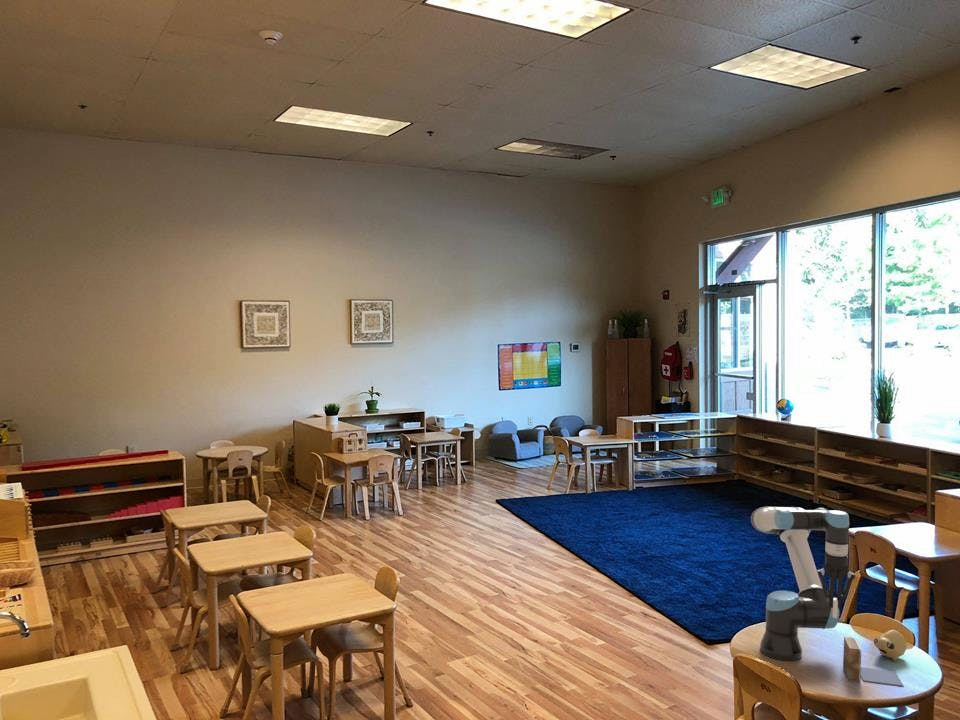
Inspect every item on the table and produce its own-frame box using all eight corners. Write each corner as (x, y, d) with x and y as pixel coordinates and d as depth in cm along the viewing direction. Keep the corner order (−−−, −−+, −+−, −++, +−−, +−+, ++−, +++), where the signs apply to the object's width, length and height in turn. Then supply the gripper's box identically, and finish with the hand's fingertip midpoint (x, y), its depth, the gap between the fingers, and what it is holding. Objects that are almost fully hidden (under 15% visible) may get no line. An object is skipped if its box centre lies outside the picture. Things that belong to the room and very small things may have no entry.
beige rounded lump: (867, 656, 284) (868, 629, 283) (885, 649, 290) (886, 623, 289) (893, 666, 275) (894, 638, 275) (910, 659, 281) (911, 632, 281)
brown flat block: (848, 680, 264) (849, 648, 263) (843, 668, 273) (844, 636, 273) (860, 682, 263) (861, 649, 262) (854, 669, 272) (855, 638, 272)
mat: (863, 681, 263) (863, 680, 263) (856, 667, 274) (856, 666, 274) (903, 686, 260) (903, 685, 260) (895, 672, 270) (895, 671, 270)
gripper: (818, 554, 266) (816, 618, 267) (858, 558, 262) (856, 622, 263) (815, 548, 273) (813, 610, 274) (853, 552, 269) (851, 614, 270)
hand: (834, 616), depth 269 cm, fingers closed
